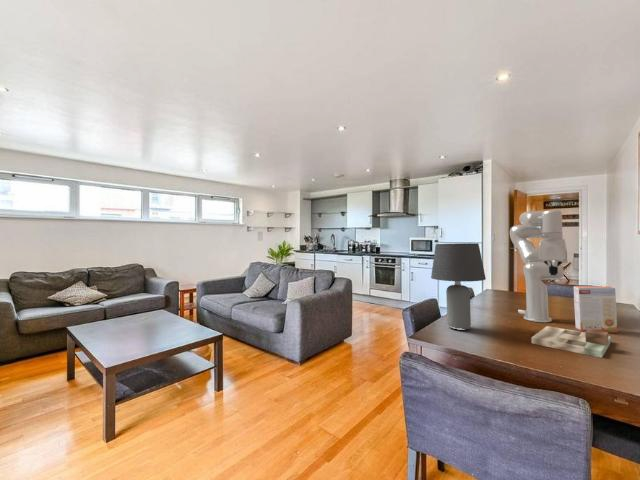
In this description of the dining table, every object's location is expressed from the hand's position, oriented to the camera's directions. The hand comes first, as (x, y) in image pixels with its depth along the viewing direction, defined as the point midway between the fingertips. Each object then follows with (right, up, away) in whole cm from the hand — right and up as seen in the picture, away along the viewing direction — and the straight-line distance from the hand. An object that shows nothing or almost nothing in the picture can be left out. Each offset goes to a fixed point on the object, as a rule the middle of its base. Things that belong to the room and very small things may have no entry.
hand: (553, 275), depth 141 cm
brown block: (+1, -25, -21) cm, 33 cm away
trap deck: (-4, -27, -15) cm, 31 cm away
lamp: (-40, -29, +10) cm, 50 cm away
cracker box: (+21, -27, +1) cm, 34 cm away
